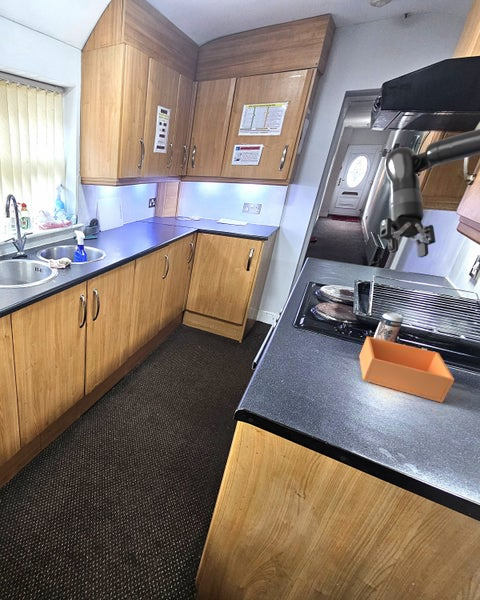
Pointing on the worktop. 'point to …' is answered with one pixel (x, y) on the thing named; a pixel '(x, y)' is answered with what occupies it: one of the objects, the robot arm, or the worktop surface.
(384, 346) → the tote
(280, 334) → the worktop surface
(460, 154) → the robot arm
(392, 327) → the beer can
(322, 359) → the worktop surface
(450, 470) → the worktop surface
